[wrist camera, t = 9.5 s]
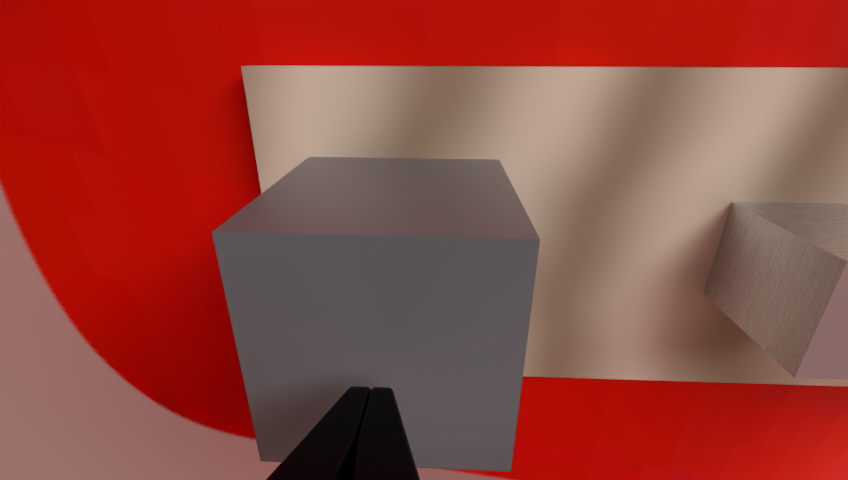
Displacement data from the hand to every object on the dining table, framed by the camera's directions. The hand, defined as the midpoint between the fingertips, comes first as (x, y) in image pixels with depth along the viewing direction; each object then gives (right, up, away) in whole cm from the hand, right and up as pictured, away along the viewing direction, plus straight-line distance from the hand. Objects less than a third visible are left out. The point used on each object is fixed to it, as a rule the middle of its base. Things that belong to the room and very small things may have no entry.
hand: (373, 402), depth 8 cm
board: (+7, +3, +8) cm, 11 cm away
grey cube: (+13, +3, +7) cm, 16 cm away
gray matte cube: (0, +3, +7) cm, 8 cm away
